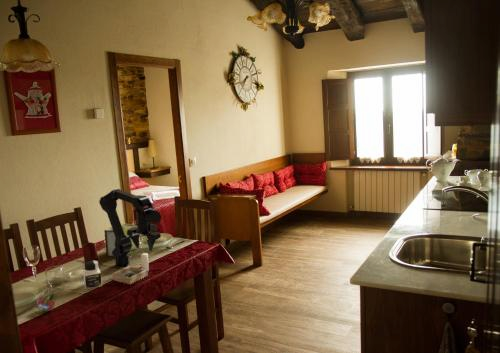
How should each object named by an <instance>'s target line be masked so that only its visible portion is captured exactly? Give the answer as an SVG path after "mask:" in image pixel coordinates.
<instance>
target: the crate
mask: <svg viewBox="0 0 500 353" xmlns="http://www.w3.org/2000/svg"><path fill="white" fill-rule="evenodd" d="M148 272H149V271H147V270H145V269H142V267H141V268H140V267H136V266H133V265H128V266H127V267H123V268H122V269H120V270H117V271H115V272H113V273H112V280H113V281H116V282H118V283H119V282H120V283H122V282H123V284H126V283H127V285H129V284H130V285H132V283H133V284H135V283H136V281H137V282H138V280H139V281H141V280H143V279H145V278H147V277H148V276H149V275H148ZM146 276H147V277H146ZM144 277H145V278H144ZM142 278H143V279H142ZM140 279H141V280H140ZM134 282H135V283H134Z"/></svg>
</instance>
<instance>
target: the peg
mask: <svg viewBox="0 0 500 353" xmlns="http://www.w3.org/2000/svg"><path fill="white" fill-rule="evenodd" d="M140 260H141V261H140V263H141V269H145V270H147V271H148V272H149V271H150V265H149V254H148V253H147V252H143V253H141V254H140Z"/></svg>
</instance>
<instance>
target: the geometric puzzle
mask: <svg viewBox="0 0 500 353" xmlns="http://www.w3.org/2000/svg"><path fill="white" fill-rule="evenodd" d="M45 296H46V297H45V298H44V296H39V297H38V299H37V300H36V306H37V308H38V310H40V311H41V314H43V313H44V312H45V311H46V310H50V311H53V309H54V307H55V304H56V301H55V300H54V298H53V297H51V298H52V300H50V296H52V295H51V294H49V295H45ZM40 308H42V310H41V309H40Z"/></svg>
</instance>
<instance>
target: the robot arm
mask: <svg viewBox="0 0 500 353" xmlns="http://www.w3.org/2000/svg"><path fill="white" fill-rule="evenodd" d="M119 200H121V201H123V202H126V203H129V204H131V206H132V207H133V208H135V209H134V210H133V213H136V222H135V226H137V227H135V228H132V229H129V230H128V231H127V235H129V237H127V236H126V235H125V234H124V231H123V228H122V226H121V223H122V222H121V220H120V217H119V214H118V212H117V206H118V202H117V201H119ZM98 203H99V205H100V207H101V209H102V211H103V212H105V213H106V214H107V217H108V221H109V223H110V225H111V227H112V229H113V232H114V235H115V243H114V244H115V249H114V250H113V251H112V255H113V256H112V257H114V256H115V257H114V259H115V265H114V267H115V268H116V267H117V268H118V267H119V268H121V267H123V268H127V267H129V265H130V262H131V259H130V255H129V254H130V253H132V252H131V248H132V242H131V240H132V241H133V243H134V244H135V246H136V248H137V249H140V236H144V237H147V238H146V239H147V240H146V243H147V246H148V250H149V252H152V251H153V248H154V245H155V243H156V241H157V240H159V239H161V236H162V235H161V233H160V232H158V230H157V229H158V225H157V224H159V223H160V222H161V220H162V214H161V212H160V211H159V210H158V209H155V207H154V205H153V204H152V202H151V200H150V199H149V197H148V196H147V195H139V194H138V195H136V194H134V193H133V194H132V193H130V192H127V191H124V190H122V189H120V188H117V189H112V190H110V192H108V193H107V194H105V195H103V196H101V197H100V198H99V202H98ZM130 238H131V239H130Z"/></svg>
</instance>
